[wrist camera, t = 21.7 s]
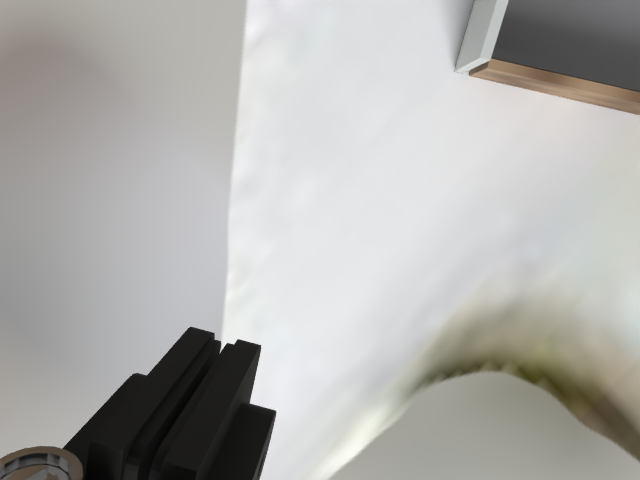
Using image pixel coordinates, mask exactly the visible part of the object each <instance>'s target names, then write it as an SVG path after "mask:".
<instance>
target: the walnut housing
mask: <svg viewBox="0 0 640 480" xmlns="http://www.w3.org/2000/svg"><path fill="white" fill-rule="evenodd" d="M469 76H472V77H477V78H481V79H485V80H490V81H494V82H498V83H503V84H507V85H511V86H516V87H520V88H524V89H529V90H533V91H537V92H542V93H546V94H550V95H555V96H559V97H563V98H568V99H572V100H577V101H581V102H585V103H590V104H594V105H598V106H603V107H607V108H611V109H616V110H620V111H624V112H629V113H633V114H637V115H640V92H636V91H632V90H628V89H623V88H619V87H615V86H610V85H606V84H601V83H597V82H593V81H588V80H584V79H579V78H575V77H571V76H566V75H562V74H558V73H553V72H549V71H544V70H540V69H536V68H531V67H527V66H522V65H518V64H514V63H509V62H505V61H501V60H496V59H492V58H491V59H490V61H488V62H485V63H483V64H481V65H479V66H477V67H475V68H473V69H471V71H470V74H469Z"/></svg>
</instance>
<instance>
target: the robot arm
mask: <svg viewBox="0 0 640 480" xmlns="http://www.w3.org/2000/svg"><path fill="white" fill-rule="evenodd" d="M214 338H215V337H214V333H212V332H208V331H205V330H201V329H197V328H194V327H190V328H188V329H187V331H186V332H185V333H184V334H183V335H182V336H181V337H180V339H179V340H178V341H177V342H176V343H175V344H174V345H173V347H172V348H171V349H170V350H169V351H168V352H167V354H166V355H165V356H164V357H163V358H162V359H161V360H160V362H159V363H158V364H157V365H156V366H155V367H154V368H153V369H152V371H151V372H150V373H149V374H148V375H147V376H146V375H142V374H139V373H136V374H133V375H132V376H130V378H128V379H127V380H126V382H124V384H123V385H122V386H121V387H120V388H119V389H118V390H117V391H116V392H115V393H114V394H113V395H112V396H111V397H110V399H109V400H108V401H107V402H106V403H105V404H104V405H103V406H102V407H101V408H100V409H99V410H98V411H97V412H96V413H95V414H94V416H93V417H92V418H91V419H90V420H89V421H88V422H87V423H86V424H85V425H84V426H83V427H82V428H81V430H79V432H78V433H77V434H76V435H75V436H74V437H73V438H72V439H71V440H70V441H69V442H68V443H67V444H66V445H65V446H64V448H63V449H61V448H57V447H51V446H37V447H31V448H25V449H21V450H19V451H16V452H13V453H10V454H8V455H6V456H4V457H2V458H1V459H0V480H259V479H260V476H261V472H262V469H263V465H264V462H265V458H266V454H267V451H268V447H269V443H270V439H271V434H272V430H273V426H274V421H275V417H276V411H275V410H271V409H268V408H264V407H260V406H256V405H253V404H249V403H250V399H251V394H252V389H253V385H254V380H255V375H256V371H257V366H258V361H259V357H260V352H261V345H258V344H254V343H250V342H246V341H243V340H239V339H238V340H237V341H236V343H235V344H234V345H233V344H229V343H227V344H226V345H225V347H224V348H223V350H222V351H221V353H220V349H221V341H218V340H214Z"/></svg>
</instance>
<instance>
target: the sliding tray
mask: <svg viewBox="0 0 640 480" xmlns="http://www.w3.org/2000/svg"><path fill="white" fill-rule="evenodd" d="M491 58H492V59H496V60H501V61H505V62H509V63H514V64H518V65H522V66H527V67H531V68H536V69H540V70H544V71H549V72H553V73H558V74H562V75H566V76H571V77H575V78H579V79H584V80H588V81H593V82H597V83H601V84H606V85H610V86H615V87H619V88H623V89H628V90H632V91H636V92H640V0H475V1H474V5H473V8H472V12H471V15H470V19H469V22H468V26H467V29H466V32H465V36H464V39H463V43H462V46H461V50H460V53H459V57H458V60H457V63H456V67H455V70H454V72H457V73H461V74H462V73H464V72H467V71H469V70H471V69H473V68H475V67H477V66H479V65H481V64H483V63H485V62H488V61H490V59H491Z"/></svg>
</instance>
